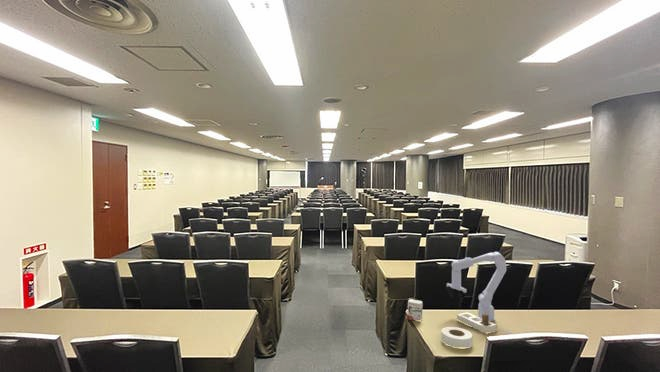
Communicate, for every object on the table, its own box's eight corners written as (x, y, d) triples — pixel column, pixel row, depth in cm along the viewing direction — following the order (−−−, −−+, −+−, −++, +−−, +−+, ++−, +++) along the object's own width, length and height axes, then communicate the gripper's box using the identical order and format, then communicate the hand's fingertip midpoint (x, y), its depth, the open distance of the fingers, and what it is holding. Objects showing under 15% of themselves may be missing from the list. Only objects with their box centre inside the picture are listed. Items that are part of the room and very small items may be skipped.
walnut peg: (484, 326, 194) (484, 313, 194) (489, 328, 191) (489, 315, 191) (480, 327, 193) (480, 314, 193) (485, 330, 190) (485, 316, 190)
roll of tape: (436, 336, 184) (436, 326, 184) (462, 335, 186) (463, 325, 186) (449, 350, 168) (449, 339, 168) (478, 349, 170) (478, 338, 170)
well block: (466, 318, 209) (466, 312, 209) (496, 331, 191) (496, 324, 191) (456, 320, 205) (456, 314, 205) (486, 334, 187) (486, 327, 187)
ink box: (407, 319, 207) (407, 301, 207) (409, 316, 211) (409, 298, 211) (420, 322, 203) (421, 303, 203) (422, 319, 207) (422, 301, 207)
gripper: (443, 277, 217) (443, 297, 217) (461, 283, 204) (460, 305, 204) (451, 276, 220) (450, 296, 220) (468, 282, 208) (468, 303, 208)
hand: (456, 300), depth 213 cm, fingers open, 7 cm apart
